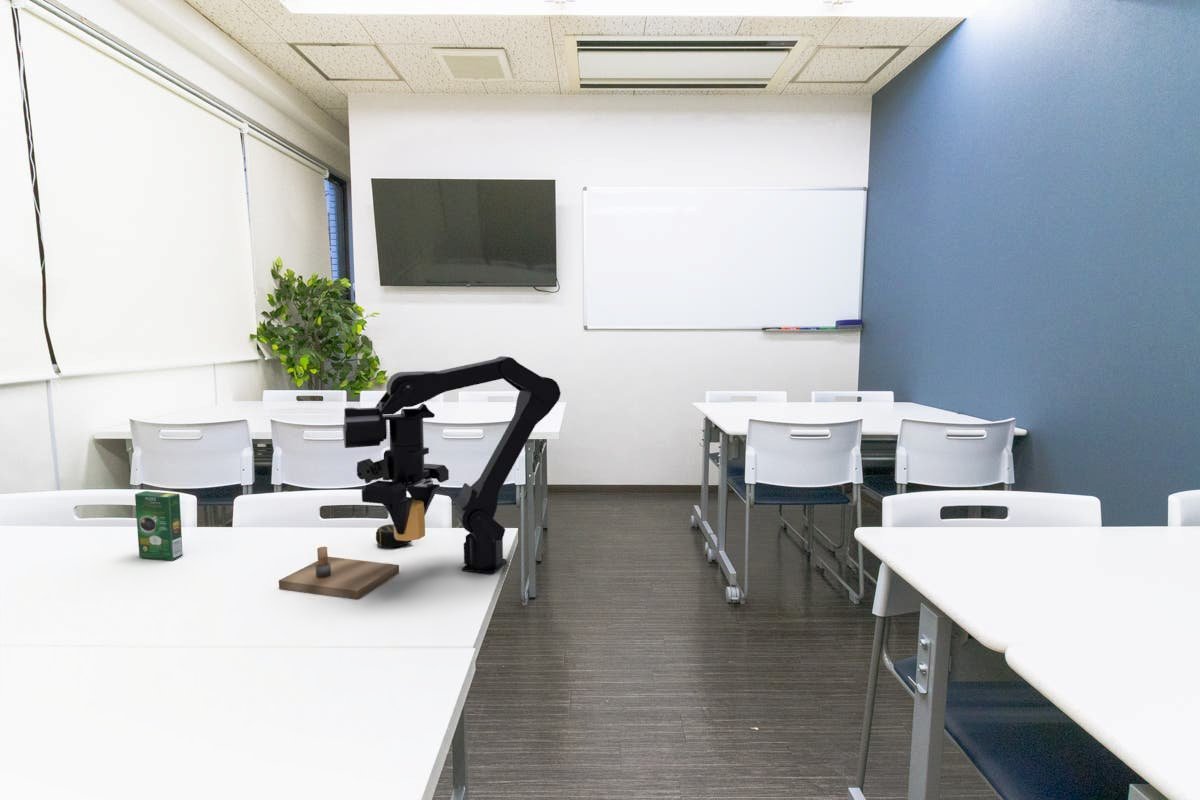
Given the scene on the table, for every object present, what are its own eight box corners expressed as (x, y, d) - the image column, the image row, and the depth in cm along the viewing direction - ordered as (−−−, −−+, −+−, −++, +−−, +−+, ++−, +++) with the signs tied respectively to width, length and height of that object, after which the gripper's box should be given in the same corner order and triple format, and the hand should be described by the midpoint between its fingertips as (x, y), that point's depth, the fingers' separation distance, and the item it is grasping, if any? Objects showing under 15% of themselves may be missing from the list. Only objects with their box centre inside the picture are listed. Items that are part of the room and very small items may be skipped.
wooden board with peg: (399, 572, 115) (398, 538, 115) (357, 599, 104) (355, 562, 103) (326, 563, 120) (325, 531, 119) (279, 588, 108) (276, 552, 107)
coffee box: (185, 556, 124) (180, 492, 122) (173, 561, 121) (168, 495, 120) (151, 553, 125) (146, 490, 124) (138, 558, 123) (132, 493, 121)
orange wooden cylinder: (429, 533, 113) (429, 500, 112) (414, 542, 108) (413, 508, 108) (405, 530, 114) (404, 498, 114) (388, 539, 110) (387, 506, 109)
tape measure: (413, 547, 130) (412, 529, 129) (379, 552, 126) (378, 534, 126) (406, 537, 136) (406, 520, 135) (373, 542, 132) (373, 525, 132)
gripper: (397, 433, 121) (400, 511, 122) (332, 450, 103) (336, 542, 104) (449, 436, 118) (451, 516, 119) (390, 454, 100) (393, 548, 101)
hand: (409, 529), depth 111 cm, fingers closed on orange wooden cylinder, 5 cm apart
